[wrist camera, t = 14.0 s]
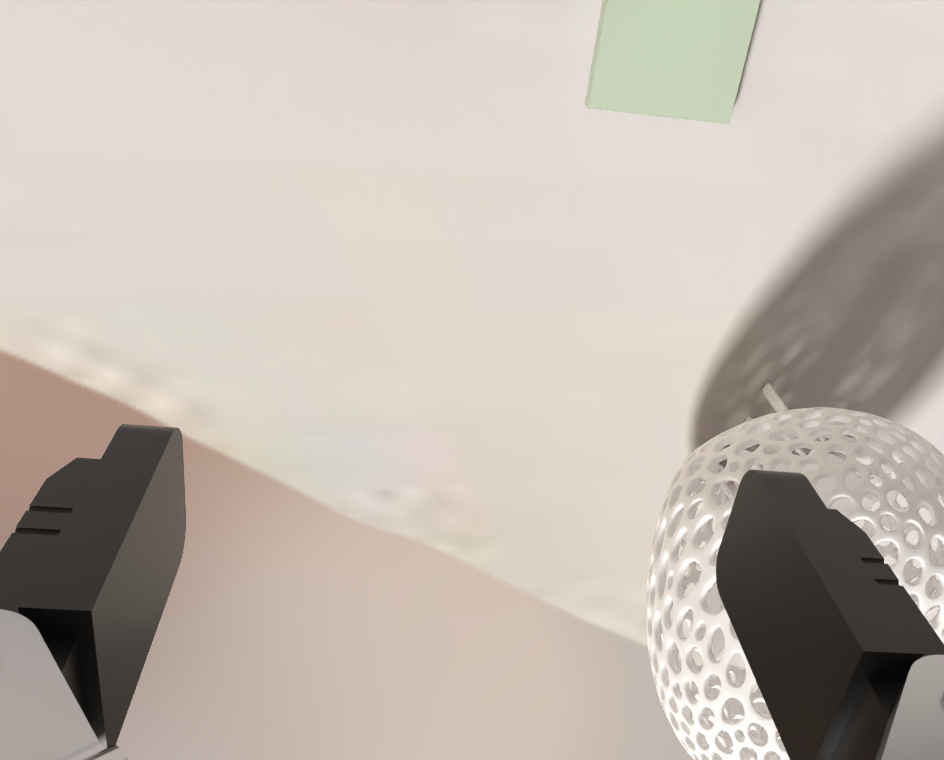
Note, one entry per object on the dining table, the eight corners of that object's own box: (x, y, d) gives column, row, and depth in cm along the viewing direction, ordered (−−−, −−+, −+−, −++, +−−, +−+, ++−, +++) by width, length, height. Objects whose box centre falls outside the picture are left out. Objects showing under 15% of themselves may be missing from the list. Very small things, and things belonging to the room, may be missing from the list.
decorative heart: (720, 598, 54) (835, 866, 39) (566, 549, 52) (626, 815, 37) (897, 357, 47) (1122, 575, 32) (726, 286, 44) (883, 486, 29)
